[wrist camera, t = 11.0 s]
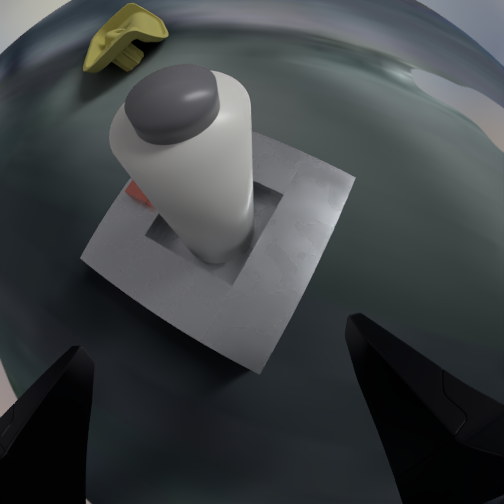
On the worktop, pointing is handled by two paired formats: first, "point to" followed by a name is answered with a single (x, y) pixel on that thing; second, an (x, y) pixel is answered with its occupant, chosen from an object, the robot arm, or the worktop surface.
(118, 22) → the plastic component
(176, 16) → the worktop surface
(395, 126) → the worktop surface
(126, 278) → the socket box
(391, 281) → the worktop surface
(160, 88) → the plug
